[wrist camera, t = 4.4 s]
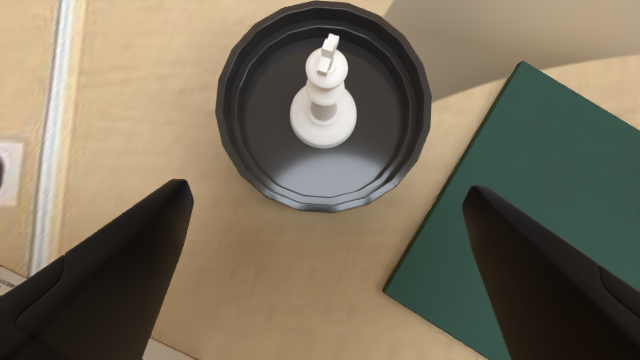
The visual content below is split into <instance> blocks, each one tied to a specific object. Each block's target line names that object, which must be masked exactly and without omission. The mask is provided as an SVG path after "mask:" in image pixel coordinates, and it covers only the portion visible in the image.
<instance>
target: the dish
mask: <svg viewBox="0 0 640 360" xmlns="http://www.w3.org/2000/svg"><path fill="white" fill-rule="evenodd" d="M329 34H333V35H336V36H339V42H338V45H337V48H336V50H338V51H340V52H341V53H342V54H343V55H344V57H345V58H346V61H347V64H348V72H347V76H346V78H345V80H344V85H345V89H346V90H347V91H348V92H349V93H350V95H351V96H352V98H353V100H354V102H355V105H356V111H357V119H356V124H355V127H354V130H353V132H352V133H351V135H350V136H349V137H348V138H347V139H346V140H345V141H344V142H342V143H341V144H339V145H337V146H335V147H331V148H315V147H312V146H310V145H307V144H306V143H304V142H303V141H302V140H300V139H299V138H298V136H297V135H296V134H295V132H294V130H293V128H292V126H291V122H290V109H291V104H292V101H293V99H294V97H295V96H296V94H297V93H298V92H299V91H300V90H301V89H302V88H303V87H304V86H306V83H307V80H308V77H307V74H306V62H307V59H308V57H309V56H310V55H311V53H313V52H314V51H315V50H317V49H319V48H322V47H323V44H324V41H325V39H328V37H329ZM431 100H432V96H431V91H430V88H429V84H428V80H427V77H426V73H425V69H424V66H423V64H422V61H421V60H420V58H419V57H418V55H417V54H416V53H415V51H414V49H413V48H412V46H411V45H410V43H409V42H408V40H407V39H406V37H405V36H404V35H403V34H402V33H400V32H399V31H398V30H397V29H395V28H394V27H393V26H392V25H390V24H389V23H388V22H387V21H385V20H384V19H383V18H382V17H381V16H379V15H377V14H375V13H372V12H370V11H367V10H365V9H362V8H360V7H357V6H355V5H352V4H349V3H343V2H330V1H317V0H315V1H310V2H306V3H302V4H297V5H293V6H288V7H284V8H282V9H280V10H278V11H276V12H275V13H273V14H271V15H270V16H268V17H266V18H264V19H263V20H261V21H259V22H258V23H256V24H255V25H253V26H252V27H251V29H250V30H249V31H248V32H247V33H246V34H245V35H244V36H243V37H242V39H241V40H240V41H239V42H238V43H237V44H236V45H235V46H234V47H233V49H232V50H231V52H230V55H229V57H228V59H227V61H226V64H225V66H224V68H223V70H222V73H221V75H220V77H219V80H218V89H217V99H216V110H215V114H216V119H217V123H218V128H219V132H220V136H221V141H222V145H223V147H224V149H225V150H226V152H227V154H228V155H229V157H230V159H231V160H232V162H233V164H234V165H235V167H236V169H237V170H238V172H239V174H240V175H241V176H242V177H243V178H245V179H246V180H247V181H248V182H249V183H250V184H252V185H253V186H254V187H255V188H256V189H257V190H259V191H260V192H261V193H262V194H263V195H265V196H266V197H267V198H269V199H272V200H274V201H277V202H279V203H282V204H284V205H287V206H289V207H292V208H294V209H296V210H300V211H313V212H326V213H336V212H340V211H344V210H348V209H352V208H356V207H360V206H364V205H367V204H369V203H371V202H372V201H374V200H376V199H377V198H379V197H380V196H382V195H384V194H385V193H387V192H388V191H390V190H391V189H393V188H395V187H396V186H397V185H398V184H399V183H400V181H401V180H402V179H403V178H404V177H405V175H406V174H407V173H408V172H409V171H410V169H411V168H412V167H413V166H414V164H415V163H416V162H417V161H418V159H419V157H420V154H421V151H422V149H423V146H424V144H425V141H426V138H427V136H428V133H429V131H430V122H431Z"/></svg>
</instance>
